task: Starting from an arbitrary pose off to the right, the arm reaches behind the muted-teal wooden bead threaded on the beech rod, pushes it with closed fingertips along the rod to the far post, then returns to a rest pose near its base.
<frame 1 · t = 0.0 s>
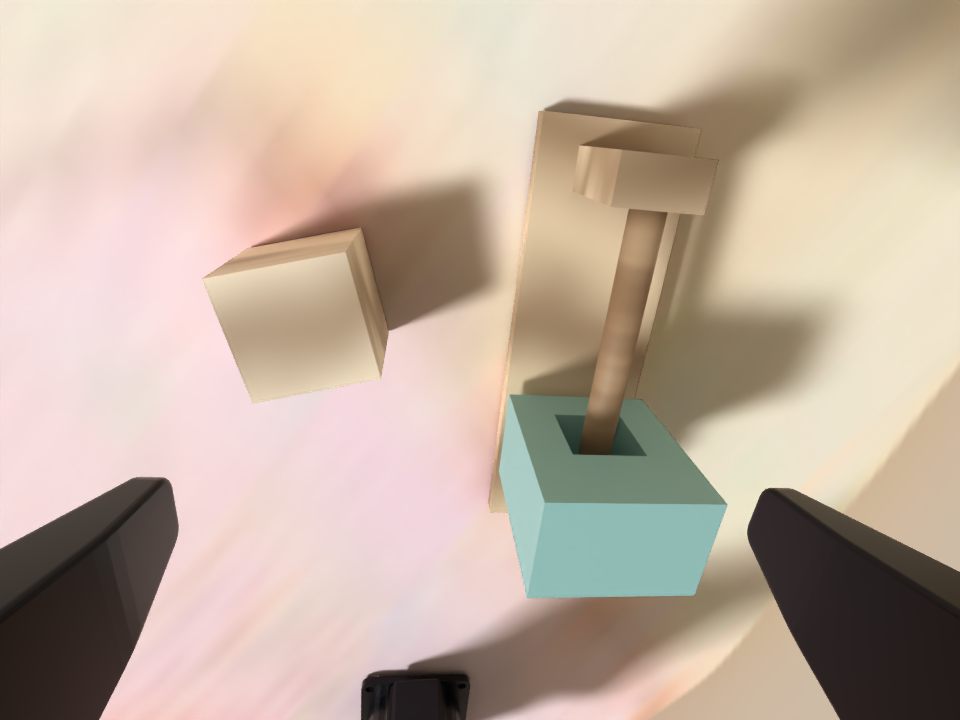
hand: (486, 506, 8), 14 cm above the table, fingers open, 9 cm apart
bead: (592, 484, 20), point 5 cm above the table, slide at -4.0 cm
rail: (575, 341, 23), on the table
maple cube: (321, 292, 21), on the table
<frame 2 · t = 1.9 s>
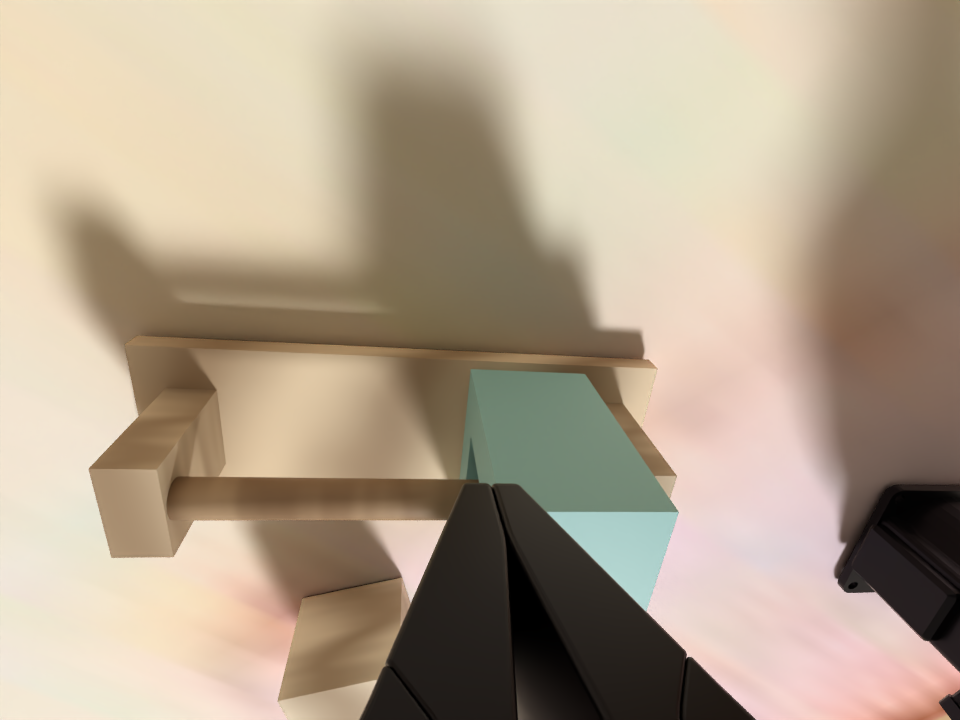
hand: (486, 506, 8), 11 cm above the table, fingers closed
bead: (538, 510, 15), point 5 cm above the table, slide at -4.0 cm
rail: (407, 420, 19), on the table
maple cube: (365, 621, 24), on the table
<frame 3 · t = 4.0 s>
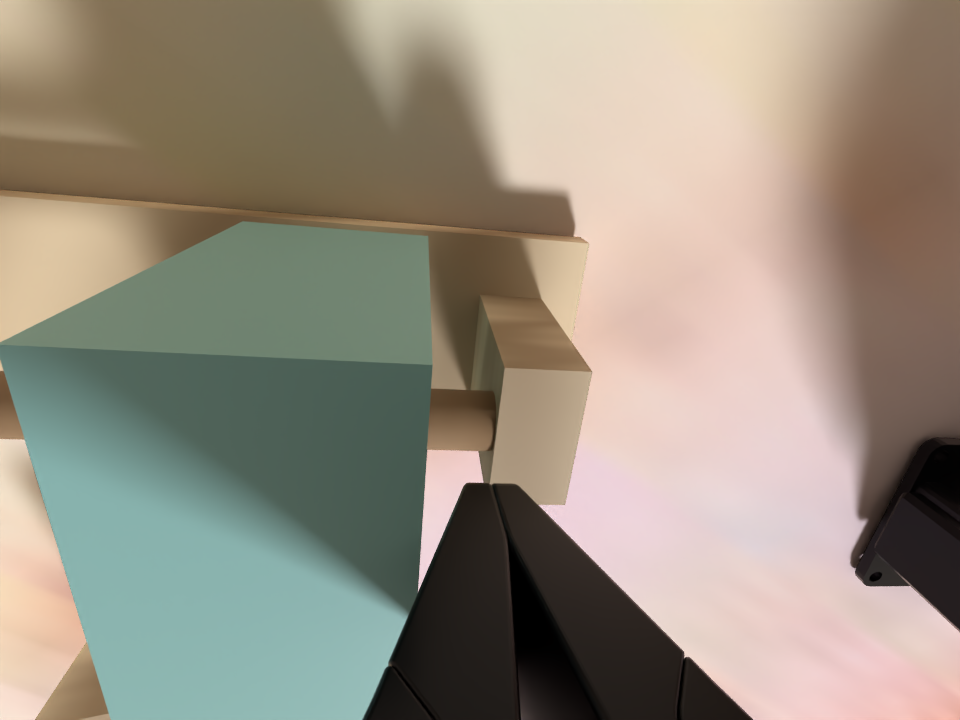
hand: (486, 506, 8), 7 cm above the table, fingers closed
bead: (310, 428, 9), point 5 cm above the table, slide at -3.0 cm, touching gripper
rail: (231, 324, 13), on the table
maple cube: (218, 617, 18), on the table
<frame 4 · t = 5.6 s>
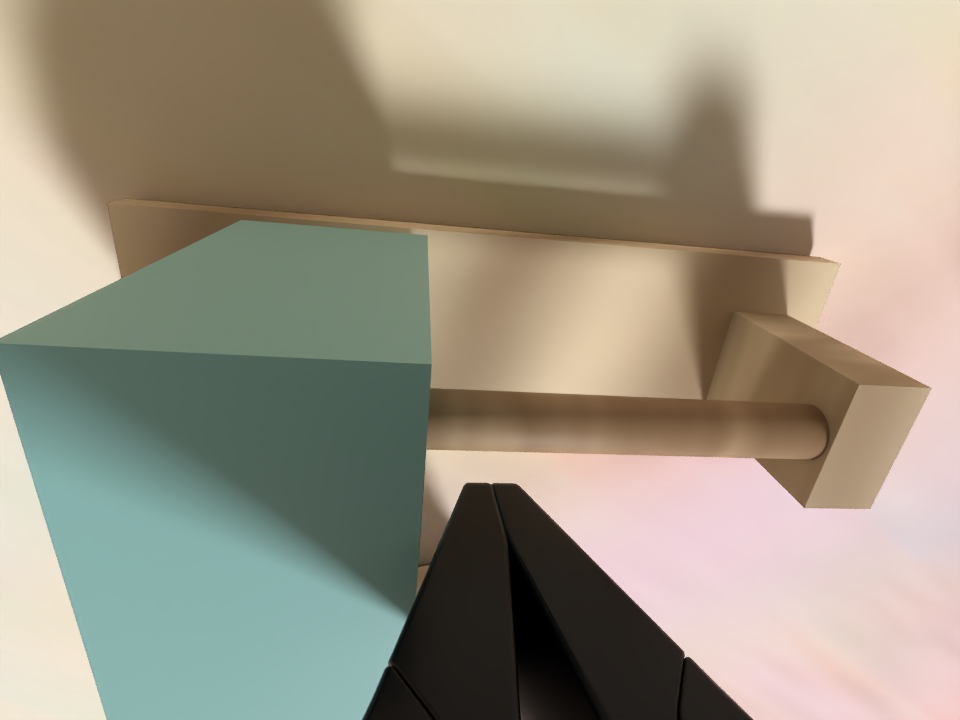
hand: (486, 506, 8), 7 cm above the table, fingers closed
bead: (308, 428, 9), point 5 cm above the table, slide at 4.0 cm, touching gripper
rail: (491, 338, 14), on the table
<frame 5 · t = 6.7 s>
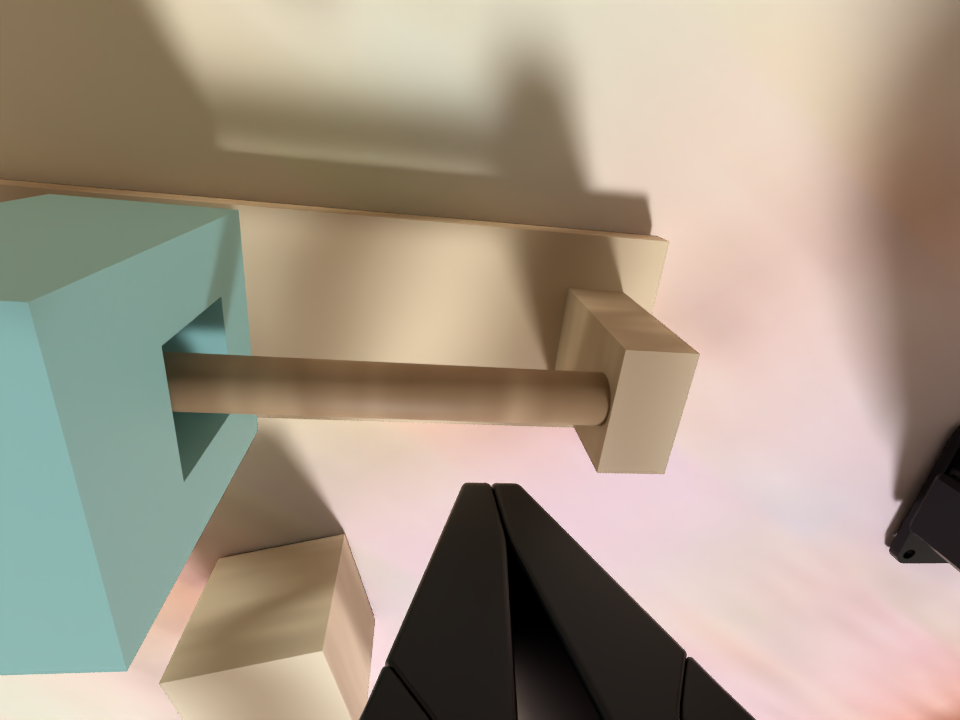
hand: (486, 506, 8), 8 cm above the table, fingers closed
bead: (81, 390, 10), point 5 cm above the table, slide at 4.0 cm
rail: (338, 315, 15), on the table
maple cube: (300, 590, 19), on the table
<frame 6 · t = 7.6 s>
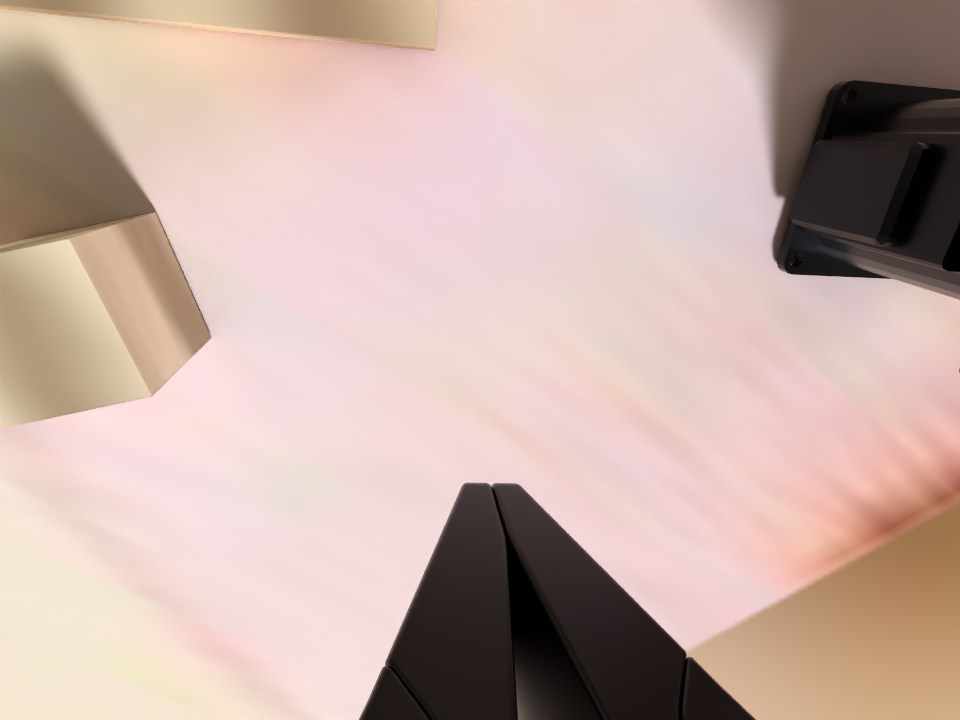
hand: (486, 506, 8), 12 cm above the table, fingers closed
maple cube: (120, 291, 17), on the table
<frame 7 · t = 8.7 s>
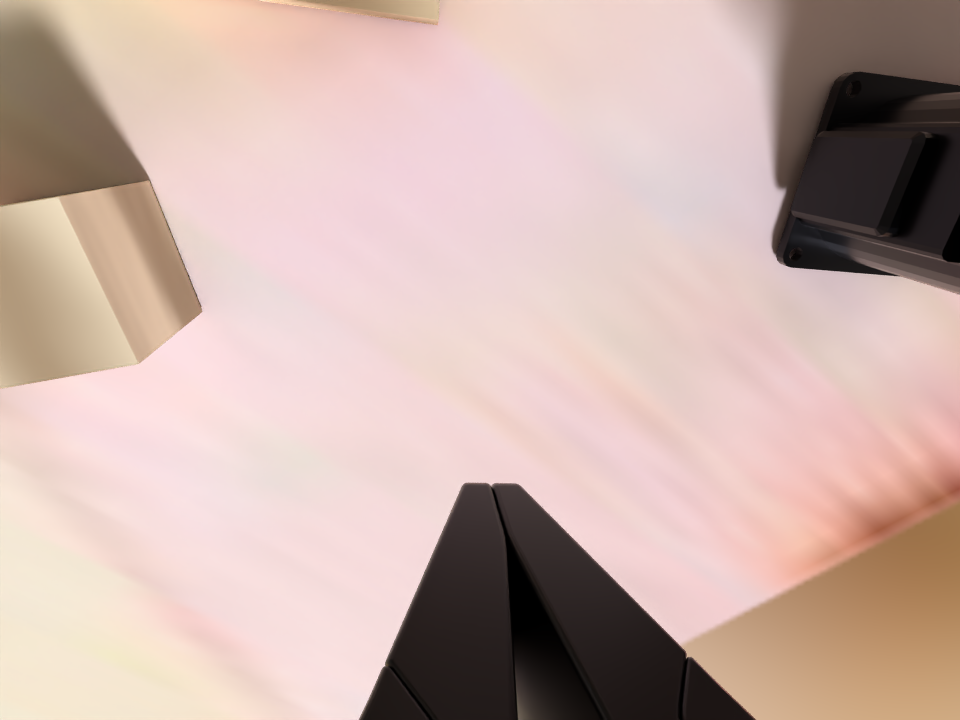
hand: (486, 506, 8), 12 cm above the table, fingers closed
maple cube: (110, 261, 17), on the table
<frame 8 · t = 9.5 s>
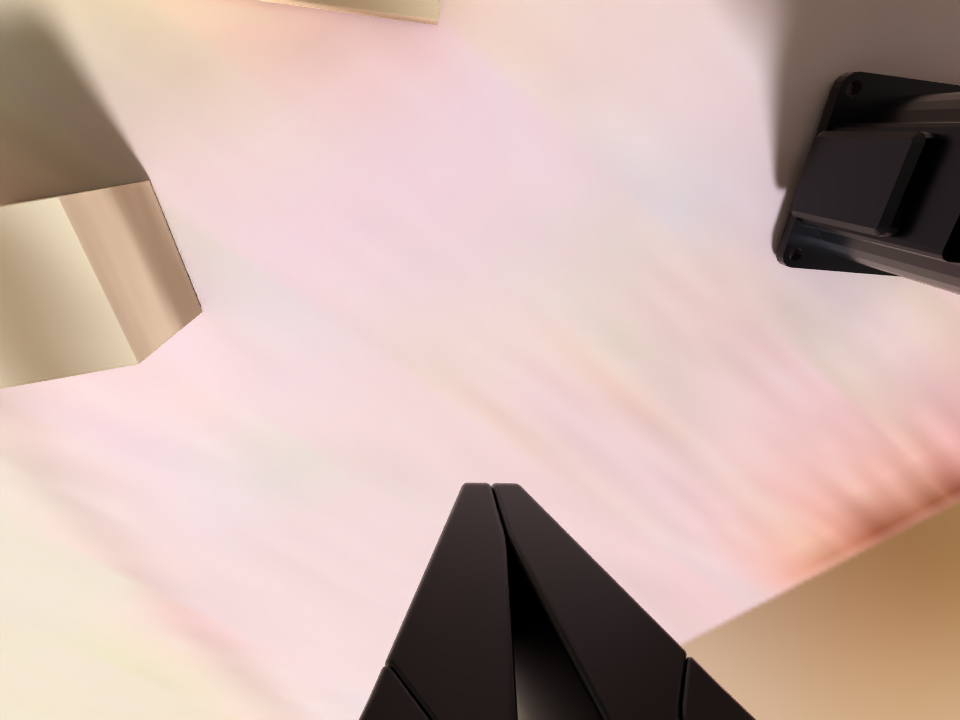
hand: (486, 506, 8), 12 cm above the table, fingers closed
maple cube: (110, 261, 17), on the table
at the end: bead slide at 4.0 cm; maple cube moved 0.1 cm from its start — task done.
